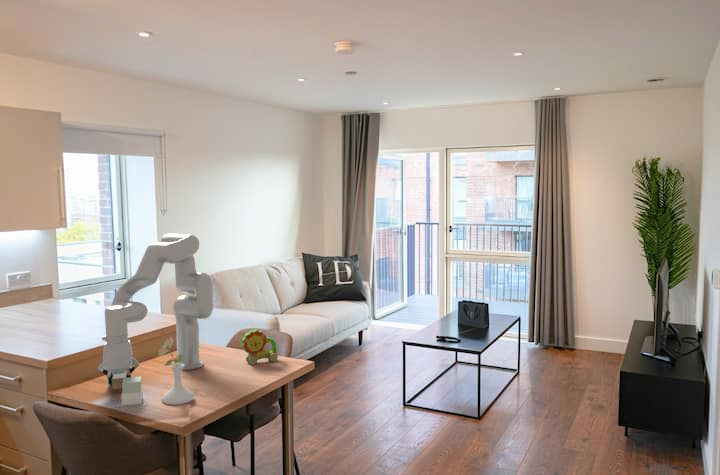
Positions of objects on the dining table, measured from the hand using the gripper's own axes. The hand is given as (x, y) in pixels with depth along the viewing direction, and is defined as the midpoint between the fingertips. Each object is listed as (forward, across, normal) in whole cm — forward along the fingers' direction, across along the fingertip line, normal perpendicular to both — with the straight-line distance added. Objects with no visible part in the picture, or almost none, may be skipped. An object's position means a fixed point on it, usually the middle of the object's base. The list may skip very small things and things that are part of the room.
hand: (120, 384), depth 214 cm
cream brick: (+3, +5, -11) cm, 12 cm away
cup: (+5, -3, +9) cm, 11 cm away
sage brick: (-1, +6, -10) cm, 12 cm away
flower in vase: (+4, +21, -14) cm, 25 cm away
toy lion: (+6, +55, +28) cm, 62 cm away
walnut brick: (+1, 0, 0) cm, 1 cm away
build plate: (+4, +5, -11) cm, 13 cm away
